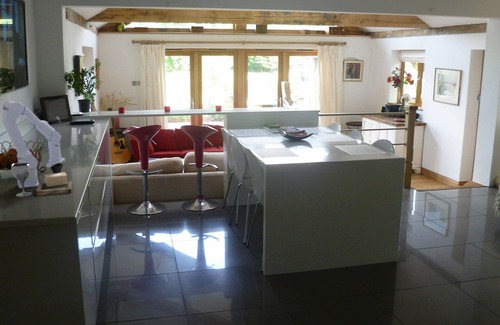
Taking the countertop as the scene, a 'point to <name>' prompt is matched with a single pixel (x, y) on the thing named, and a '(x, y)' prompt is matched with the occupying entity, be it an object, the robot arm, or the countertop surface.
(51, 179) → the carton
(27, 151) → the robot arm
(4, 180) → the countertop surface
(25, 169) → the wine glass
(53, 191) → the cradle
